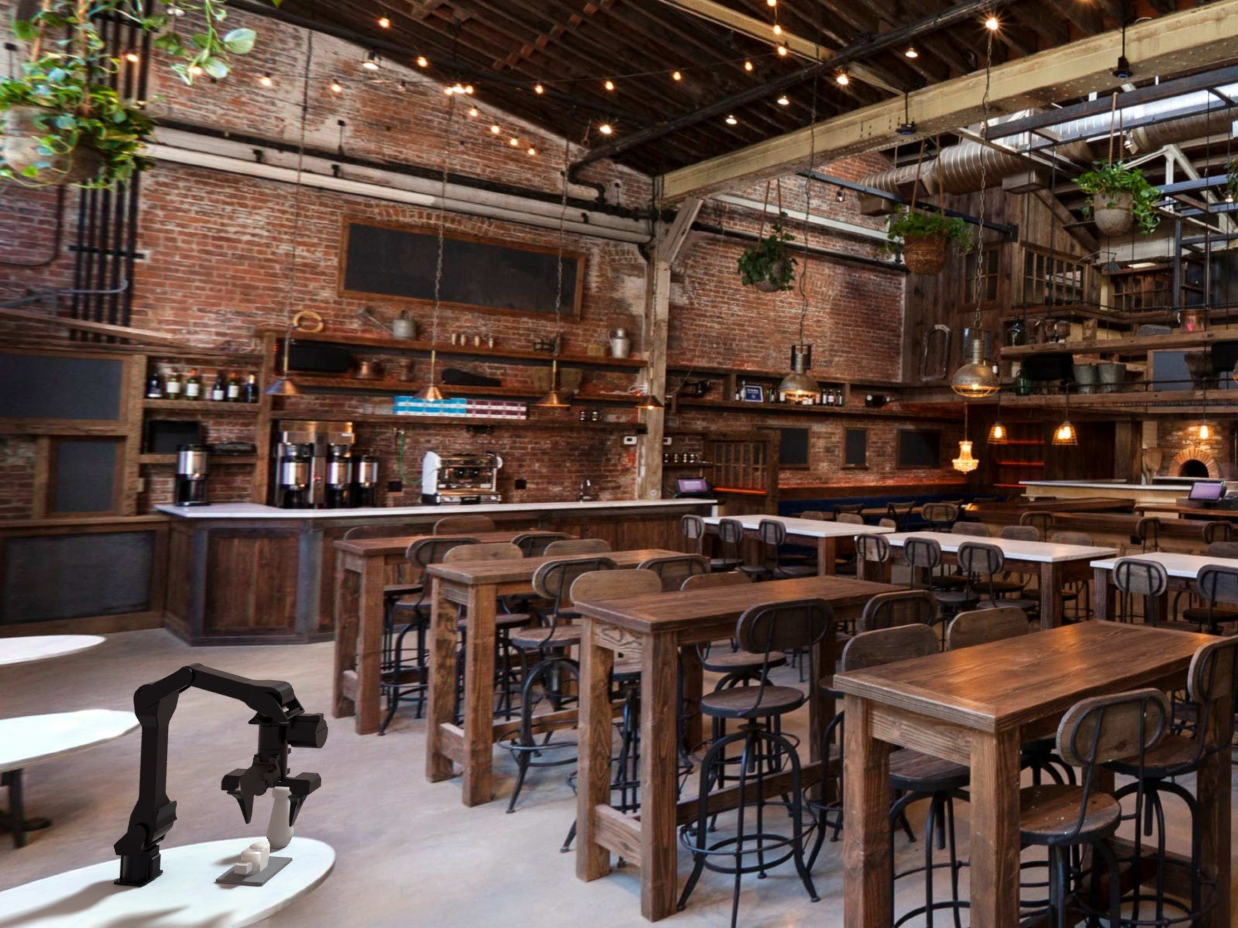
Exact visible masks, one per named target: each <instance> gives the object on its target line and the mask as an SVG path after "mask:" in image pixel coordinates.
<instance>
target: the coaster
mask: <svg viewBox="0 0 1238 928" xmlns="http://www.w3.org/2000/svg"><path fill="white" fill-rule="evenodd" d="M292 861H293V857H288V856H286V857H285V856H273V855H272V856H271V855H269V865H268V866H267V867H266V868H264V869H263V870H262V871H261V872H259V873H257V874H255V875H249V876H245V875H241V874H239V873H234V869H235V864H234V865H233V866H232V867H230V868H229V869H227V870H225V872H223V873H222V874H221V875H220V876H218V877H216V878H215V883H220V884H223V883H224V884H235V885H247V886H249V885H250V886H264V885H265V884H266V883H268V881H270V880H271V879H273V877H275V876H276V875H277V874H278V873H279V872H280V871H282V870H283V869H284V868H285V867H286V866H288V865H289V864H290V863H291V862H292Z"/></svg>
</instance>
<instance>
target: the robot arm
mask: <svg viewBox="0 0 1238 928" xmlns="http://www.w3.org/2000/svg"><path fill="white" fill-rule="evenodd" d="M191 687H192V688H196V689H199V690H203V691H207V692H211V693H213V694H216V695H220V696H225V697H227V698H231V699H235V700H238V701H240V702H242V703H244V704H245V705H246V706H247V707H248V708H249V709H250V710H253V711H255V712H256V713H255V715H254V716H253V717H251V718H250V720H248V722H247V725H250V726H251V725H254V726H255V725H256V726H257V725H258V730H257V731H258V734H257V735H258V736H257V753H254V754H253V758H252V763H251V765H250V766H249V767H248V768H239V767H237V768H235V769H233V770H231V771H229V772H228V773H226V774H224V775H223V776H222V777H221V781H220V791H226V794H227V795H229V796H232V797H233V798H235V799H236V802H237V803H238V805H239V808H240V811H241V814H242V817H243V820H244V822H245V824H246V825H248V824H250V823H251V822H252V817H253V812H254V811H253V810H254V808H253V807H254V800H255V796H256V797H262V796H263V795H265V794H266V793H267V790H268V789H273V788H275V787H289V791H290V792H291V793H292V794H291V795H289V796H288V798H289V800H290V811H289V827H292V826H293V827H294V825H295V823H296V820H297V818H298V816H299V813H300V811H301V809H302V807H303V805H304V802H305V801H306V799H307V797H308V796H309V795H311V794H312V793H314V792H315V791H317V790H318V789H319V788H321V787H322V777H321V775H320V774H319V773H318V772H306V771H303V772H300V773H299V774H298V775H296V776H294V777H293V776H288V775H289V774H291V768H290V767H288V757H289V755H290V754H291V753H292V748H294V749H295V748H298V749H319V750H320V749H323V748H324V747H325V744H326V743H327V739H328V735H329V726H328V723H327V721H326V719H325V715H324V713H323V712H316V713H306V710H305V709H304V707H303V705H302V704H301V702H300V701H299V699H298V698H297V697H296V695H295V691H294V688H293V686H292V684H291V683H290V682H287V681H285V680H275V679H252V678H248V677H245V676H241V675H238V674H234V673H231V672H227V671H224V670H220V669H217V668H213V667H209V666H205V665H203V664H202V663H200V662H193V663H190V664H187V665H184V666H182V667H180V668H179V669H177V670H175V671H174V672H172V673H171V674H169V675H167V676H165V677H163V678H160V679H157V680H154V681H150V682H148V683H144V684H141V686H139V687H138V688H137V689H136V690H135V691H134V693H133V697H132V700H133V710H134V711H133V712H134V716H135V718H136V719H137V721H138V723H139V724H140V726H141V735H140V737H141V738H140V739H141V740H140V759H139V760H140V761H139V762H140V763H139V779H138V780H139V783H138V784H139V785H138V798H137V801H136V802H135V805H134V807H133V809H132V812H131V814H130V815H129V818H128V819H129V820H128V823H127V830H126V832H125V833H124V835H122V837H120V838H119V839H118V840H117V841H116V842H115V843H114V844H113V849H114V853H115V855H116V856H119V857H120V862H119V877H117V878H116V879H115V880H113V884H114V885H123V886H137V887H143V886H145V885H147V884H149V883H150V882H152V881H153V880H154V879H156V878H157V877H159V876H160V875H162V874H163V873H164V869H161V863H162V862H161V859H162V854H161V853H160V844H158V843H160V842H163V841H164V840H165V838H166V835H167V833H169V832H170V831H171V830H172V829H173V827H174V823H175V821H177V820H178V817H177V806H178V802H177V800H170V799H169V797H168V795H167V773H168V754H169V753H168V750H169V749H168V747H169V727H170V722H171V720H172V717H173V716H174V714H175V711H176V709H177V707H178V702H179V698H180V694H182V693H183V692H186V691H187V690H188V689H190V688H191ZM286 709H288V710H286ZM284 710H285V711H284ZM289 746H290V747H289Z"/></svg>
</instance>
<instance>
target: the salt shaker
mask: <svg viewBox="0 0 1238 928" xmlns="http://www.w3.org/2000/svg"><path fill="white" fill-rule="evenodd" d="M271 789H272V791H271V797H272V798H273V799H274V800H273V804H272V810H271V813H270V818H269V822H268V826H267V830H266V834H265V837H266V840H267V839H268V840H267V842H268V843H270V848H272V849H281V848H286V847H288V846H289V844H290V843H291V841H292V839H293V837H294V833H295V828H294V825H293V826H292V827H289V811H290V800H289V798H288V796H289V795H291V794H292V793H291V792H290V791H289V787H275V788H271Z"/></svg>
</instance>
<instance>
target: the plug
mask: <svg viewBox="0 0 1238 928" xmlns="http://www.w3.org/2000/svg"><path fill="white" fill-rule="evenodd" d="M270 849H271V846H270V843H269V842H268V841H260V842H259V841H258V842H255V843H254V842H253V843H252V844H250V845H249V846H247V847H246V848H245V849H243V850H242V851H241V852H240V860H239V861H238V862H236V864H234V865H235V869H234V873H239V874H241V875H245V876H249V875H255V874H257V873H259V872H261V871H262V870H263V869H264V868H266V867H267V866H268V865H269V856H270V852H271V851H270Z"/></svg>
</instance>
